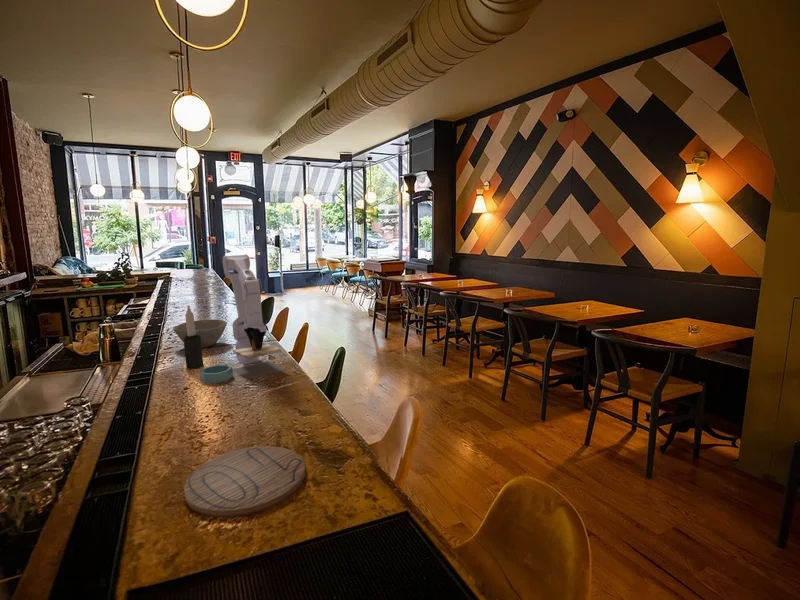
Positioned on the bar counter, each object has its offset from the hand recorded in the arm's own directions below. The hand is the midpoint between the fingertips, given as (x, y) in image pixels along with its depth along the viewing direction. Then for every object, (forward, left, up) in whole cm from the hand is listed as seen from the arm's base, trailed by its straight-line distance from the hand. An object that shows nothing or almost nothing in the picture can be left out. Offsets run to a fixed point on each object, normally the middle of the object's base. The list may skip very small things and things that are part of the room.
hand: (256, 347), depth 170 cm
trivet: (+68, -35, -10) cm, 77 cm away
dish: (-2, -15, -9) cm, 18 cm away
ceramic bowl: (-54, -2, -10) cm, 55 cm away
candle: (-22, -16, -10) cm, 29 cm away
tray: (0, 0, -9) cm, 9 cm away
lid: (0, 0, -2) cm, 2 cm away
